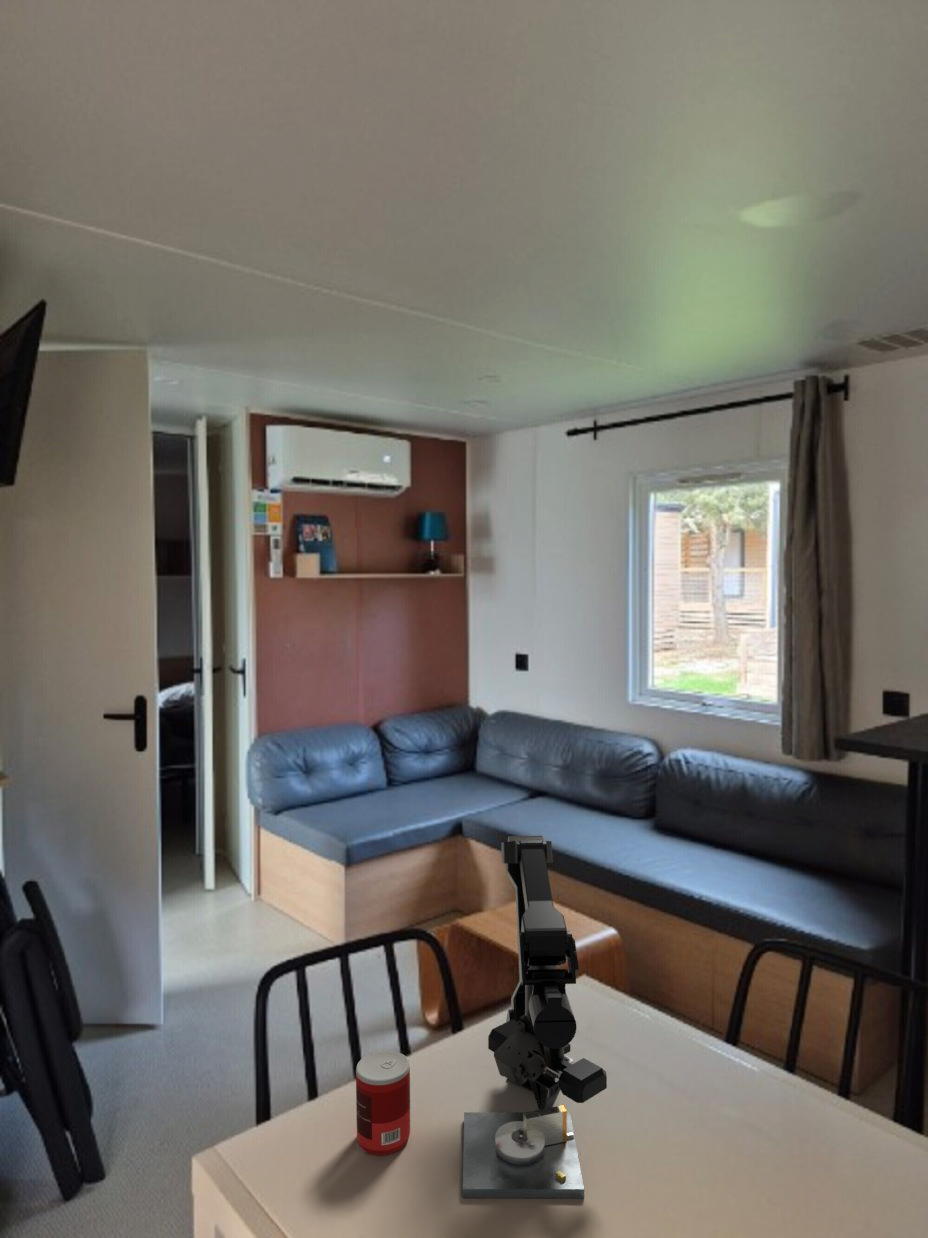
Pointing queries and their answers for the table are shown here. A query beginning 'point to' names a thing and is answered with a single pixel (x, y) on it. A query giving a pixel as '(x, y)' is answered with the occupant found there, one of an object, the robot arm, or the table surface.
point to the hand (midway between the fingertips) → (544, 1115)
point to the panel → (506, 1180)
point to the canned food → (383, 1102)
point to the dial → (531, 1135)
